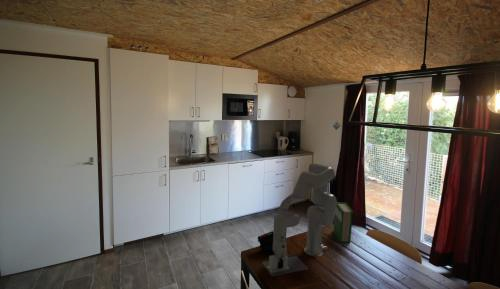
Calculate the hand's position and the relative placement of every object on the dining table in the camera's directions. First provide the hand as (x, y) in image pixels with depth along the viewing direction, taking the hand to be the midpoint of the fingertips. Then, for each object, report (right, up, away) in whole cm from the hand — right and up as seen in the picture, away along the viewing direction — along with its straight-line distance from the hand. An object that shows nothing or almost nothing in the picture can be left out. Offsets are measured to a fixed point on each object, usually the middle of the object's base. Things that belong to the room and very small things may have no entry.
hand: (278, 264), depth 149 cm
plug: (+3, -1, +1) cm, 3 cm away
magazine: (-5, -1, +18) cm, 18 cm away
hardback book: (+53, +1, +43) cm, 68 cm away
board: (+4, -3, +3) cm, 6 cm away
